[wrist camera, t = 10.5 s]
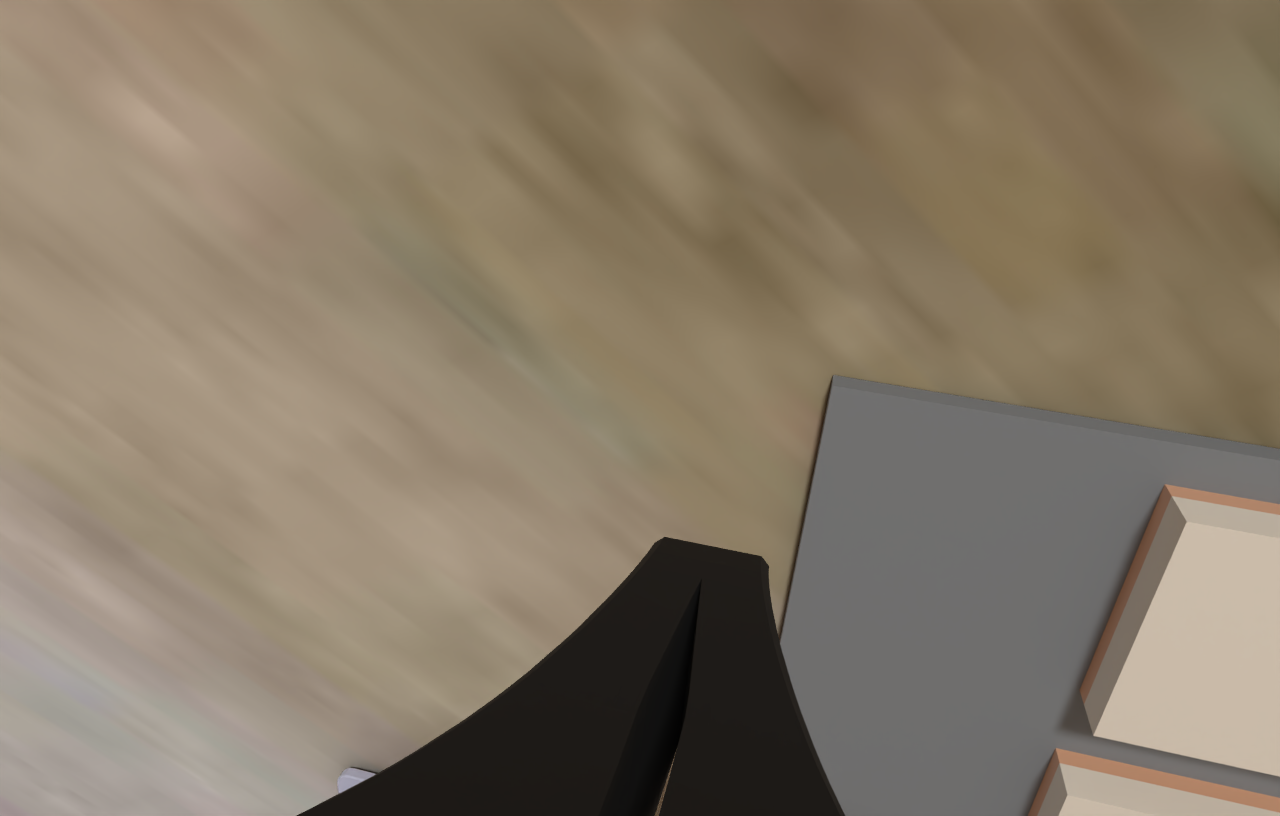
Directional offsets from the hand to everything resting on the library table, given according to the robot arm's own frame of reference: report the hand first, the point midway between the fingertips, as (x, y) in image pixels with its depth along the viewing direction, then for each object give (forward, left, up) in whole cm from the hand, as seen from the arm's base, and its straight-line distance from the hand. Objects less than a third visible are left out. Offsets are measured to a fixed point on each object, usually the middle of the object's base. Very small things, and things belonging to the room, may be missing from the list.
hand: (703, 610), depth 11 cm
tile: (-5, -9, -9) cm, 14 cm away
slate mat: (-9, -9, -10) cm, 16 cm away
